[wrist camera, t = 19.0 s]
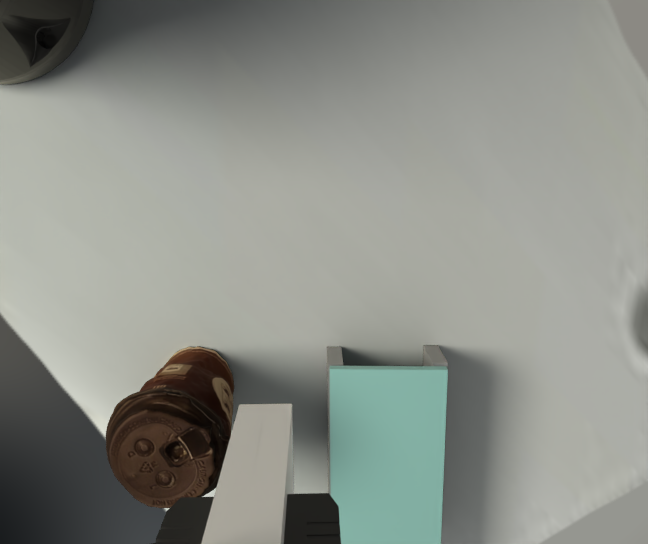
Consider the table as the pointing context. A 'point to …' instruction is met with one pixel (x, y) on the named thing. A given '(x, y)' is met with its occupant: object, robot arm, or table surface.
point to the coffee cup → (174, 430)
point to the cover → (388, 452)
